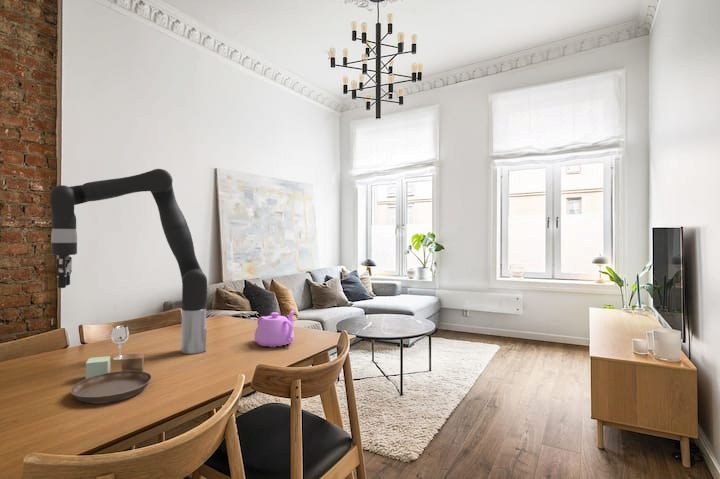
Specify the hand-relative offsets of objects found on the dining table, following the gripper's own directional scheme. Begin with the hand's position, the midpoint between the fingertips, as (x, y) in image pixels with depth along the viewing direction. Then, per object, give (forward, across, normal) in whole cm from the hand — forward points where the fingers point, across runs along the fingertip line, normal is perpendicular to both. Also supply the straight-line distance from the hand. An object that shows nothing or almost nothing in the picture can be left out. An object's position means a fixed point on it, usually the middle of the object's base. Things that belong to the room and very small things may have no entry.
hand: (64, 286), depth 144 cm
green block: (+28, -21, -12) cm, 37 cm away
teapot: (+29, -3, -78) cm, 84 cm away
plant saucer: (+29, -37, -17) cm, 50 cm away
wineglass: (+29, 0, -17) cm, 33 cm away
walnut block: (+28, -21, -22) cm, 42 cm away
